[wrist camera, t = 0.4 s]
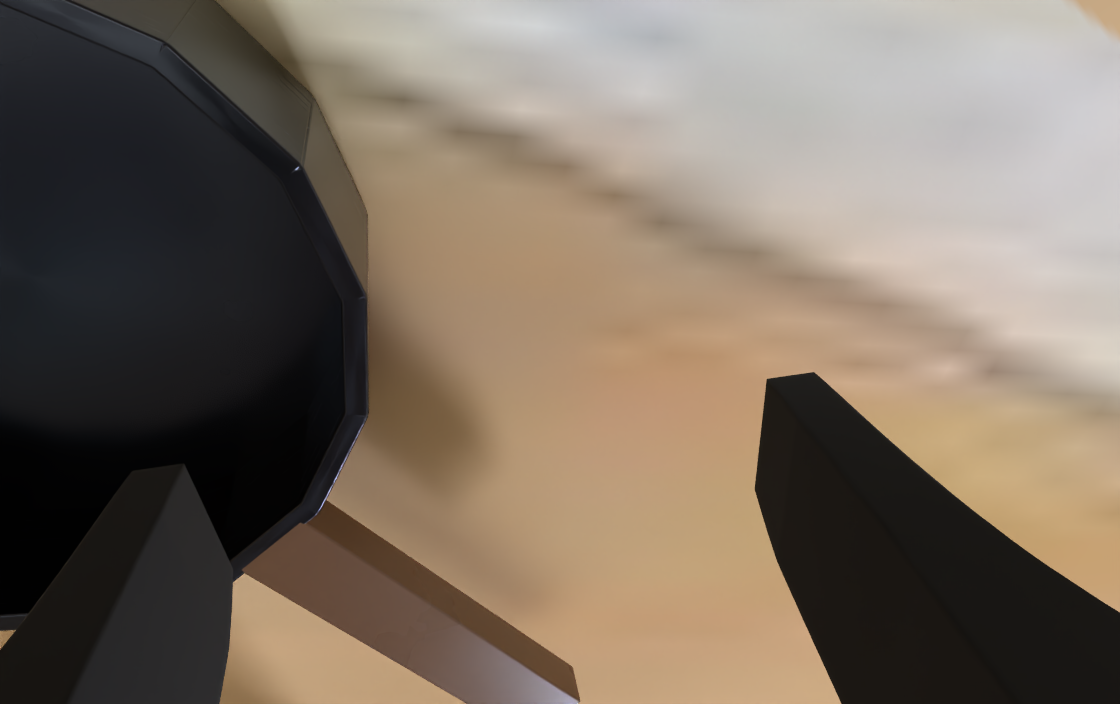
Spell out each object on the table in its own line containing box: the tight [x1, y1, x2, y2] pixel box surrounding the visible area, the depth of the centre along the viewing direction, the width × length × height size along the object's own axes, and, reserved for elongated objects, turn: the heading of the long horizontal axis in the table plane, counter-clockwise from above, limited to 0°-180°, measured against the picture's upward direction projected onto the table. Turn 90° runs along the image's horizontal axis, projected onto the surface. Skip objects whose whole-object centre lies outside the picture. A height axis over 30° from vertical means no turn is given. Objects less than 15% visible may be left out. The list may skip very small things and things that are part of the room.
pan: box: [0, 0, 580, 704], centre depth 21 cm, size 14×24×4 cm, turn 39°
